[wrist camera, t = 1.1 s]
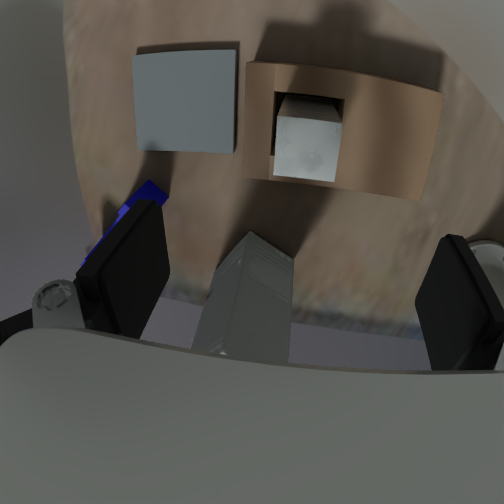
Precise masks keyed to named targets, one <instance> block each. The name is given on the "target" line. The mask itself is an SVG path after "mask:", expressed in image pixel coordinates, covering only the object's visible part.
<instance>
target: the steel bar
mask: <svg viewBox="0 0 504 504" xmlns="http://www.w3.org/2000/svg"><path fill="white" fill-rule="evenodd" d="M342 126H343V123H342V121H341V119H340V117H339V115H338V113H337V111H336V109H335V107H334V105H333V103H332V101H331V99H324V98H316V97H308V96H299V95H288V94H286V95H285V98H284V100H283V103H282V105H281V108H280V110H279V113H278V116H277V129H276V144H275V159H274V173H273V175H278V176H287V177H296V178H305V179H313V180H321V181H329V182H334V181H335V174H336V168H337V161H338V155H339V148H340V141H341V133H342Z"/></svg>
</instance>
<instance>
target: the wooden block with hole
mask: <svg viewBox="0 0 504 504" xmlns="http://www.w3.org/2000/svg"><path fill="white" fill-rule="evenodd" d="M278 91H279V92H290V93H300V94H310V95H318V96H326V97H333V98H339V103H338V112H337V113H338V115H339V117H340V119H341V121H342V123H343V126H342V133H341V141H340V148H339V155H338V161H337V168H336V174H335V181H334V182H329V181H321V180H313V179H305V178H296V177H287V176H278V175H273V173H274V159H275V144H276V142H275V126H276V110H277V94H278ZM444 95H445V94H443V93H440V92H438V91H435V90H433V89H430V88H428V87H424V86H420V85H417V84H413V83H409V82H405V81H400V80H396V79H392V78H387V77H382V76H378V75H372V74H367V73H362V72H356V71H350V70H344V69H337V68H330V67H323V66H315V65H306V64H296V63H285V62H270V61H250V62H246V83H245V114H244V147H243V178H252V179H262V180H272V181H282V182H291V183H300V184H308V185H316V186H324V187H332V188H339V189H346V190H353V191H360V192H367V193H373V194H380V195H386V196H392V197H398V198H404V199H410V200H415V201H420V200H421V197H422V193H423V189H424V186H425V182H426V178H427V175H428V171H429V167H430V163H431V159H432V154H433V150H434V146H435V141H436V137H437V132H438V127H439V122H440V117H441V112H442V106H443V101H444Z"/></svg>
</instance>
